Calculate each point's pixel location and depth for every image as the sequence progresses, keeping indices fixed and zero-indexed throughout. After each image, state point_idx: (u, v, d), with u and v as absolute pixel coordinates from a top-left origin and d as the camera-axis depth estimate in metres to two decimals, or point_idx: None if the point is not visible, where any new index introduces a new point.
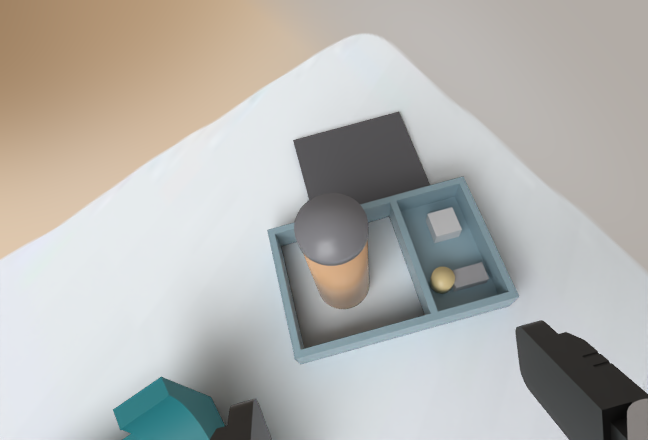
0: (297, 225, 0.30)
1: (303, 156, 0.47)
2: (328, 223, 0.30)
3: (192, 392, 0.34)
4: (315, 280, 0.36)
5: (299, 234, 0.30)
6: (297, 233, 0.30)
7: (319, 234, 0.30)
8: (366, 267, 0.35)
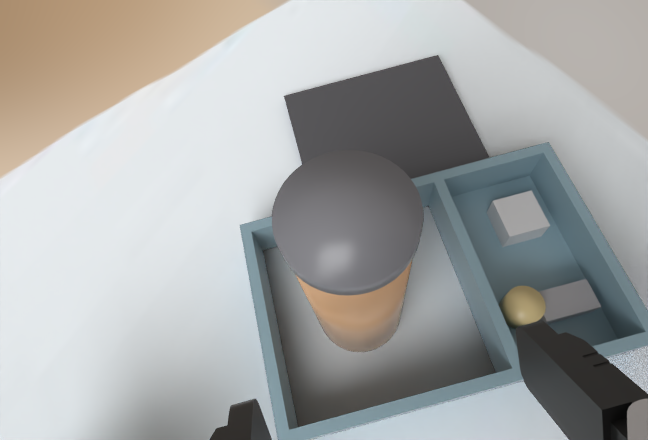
0: (278, 212, 0.15)
1: (298, 118, 0.32)
2: (341, 209, 0.15)
3: None
4: (315, 311, 0.21)
5: (282, 231, 0.15)
6: (278, 228, 0.15)
7: (323, 231, 0.14)
8: (405, 290, 0.20)
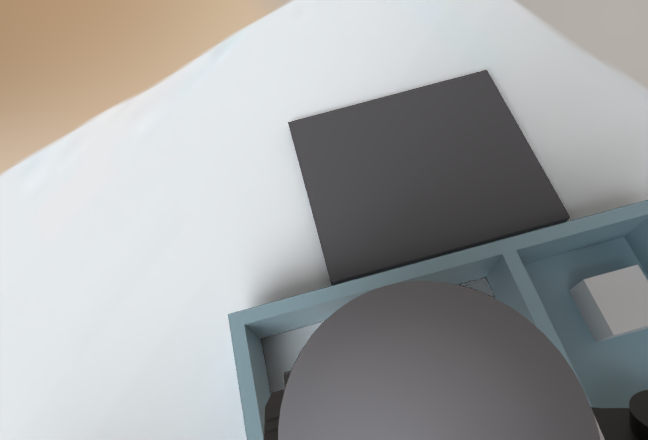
0: (292, 423, 0.07)
1: (307, 152, 0.25)
2: (422, 420, 0.07)
3: None
4: None
5: None
6: None
7: None
8: None
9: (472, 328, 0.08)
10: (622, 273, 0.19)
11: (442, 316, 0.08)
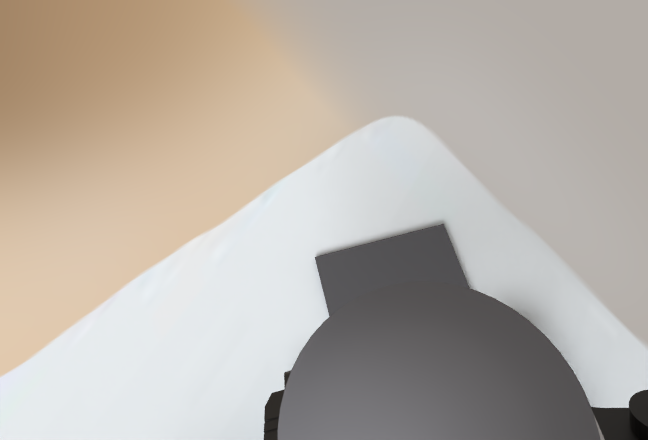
0: (291, 424, 0.07)
1: (327, 280, 0.39)
2: (422, 421, 0.07)
3: None
4: None
5: None
6: None
7: None
8: None
9: (472, 329, 0.08)
10: None
11: (442, 317, 0.08)
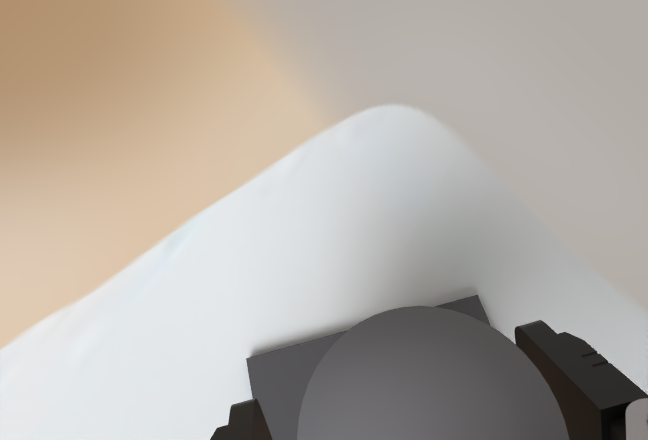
0: (309, 430, 0.09)
1: (266, 405, 0.21)
2: (420, 428, 0.08)
3: None
4: None
5: None
6: None
7: None
8: None
9: (463, 348, 0.09)
10: None
11: (438, 338, 0.09)
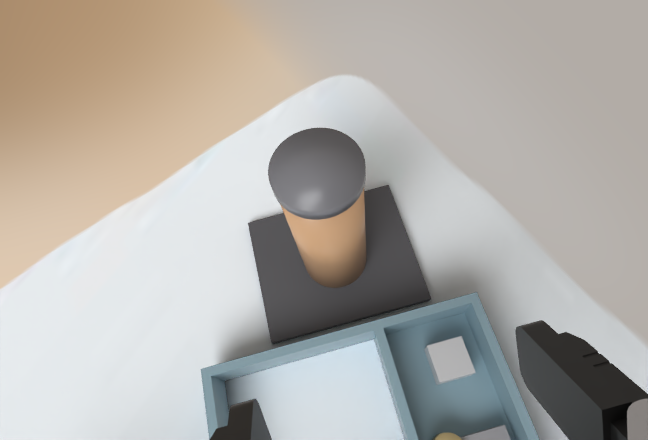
0: (272, 167, 0.23)
1: (260, 246, 0.35)
2: (313, 164, 0.23)
3: None
4: (299, 248, 0.29)
5: (275, 178, 0.23)
6: (272, 177, 0.23)
7: (301, 178, 0.23)
8: (363, 230, 0.28)
9: (332, 140, 0.23)
10: (451, 341, 0.29)
11: (322, 137, 0.24)
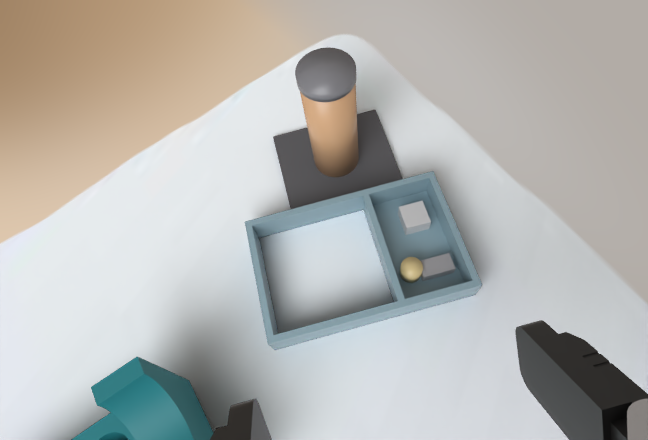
0: (298, 71, 0.37)
1: (282, 152, 0.49)
2: (323, 68, 0.37)
3: (169, 374, 0.36)
4: (312, 138, 0.43)
5: (299, 77, 0.36)
6: (298, 76, 0.36)
7: (316, 76, 0.36)
8: (355, 124, 0.42)
9: (335, 54, 0.37)
10: (415, 204, 0.43)
11: (329, 53, 0.37)
